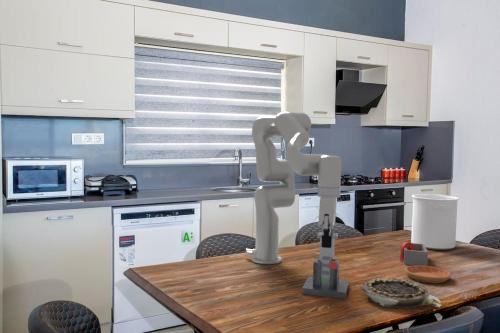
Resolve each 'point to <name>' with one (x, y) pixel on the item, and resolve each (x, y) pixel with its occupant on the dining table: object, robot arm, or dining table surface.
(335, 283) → the stand
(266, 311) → the dining table surface
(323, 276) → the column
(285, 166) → the robot arm
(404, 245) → the bracket
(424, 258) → the bracket rest
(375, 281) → the pie
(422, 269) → the saucer
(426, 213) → the bucket
